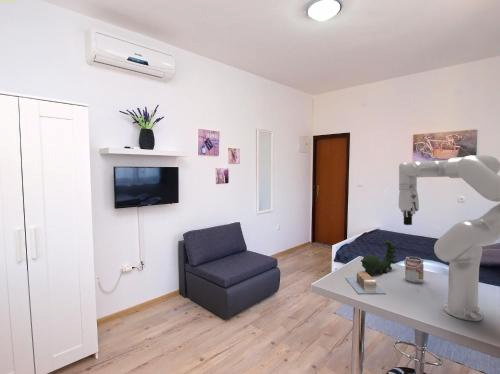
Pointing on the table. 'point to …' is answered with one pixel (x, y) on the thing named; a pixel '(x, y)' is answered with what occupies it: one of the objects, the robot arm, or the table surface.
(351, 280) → the rubber mat
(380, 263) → the toy figurine
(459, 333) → the table surface
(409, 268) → the beverage can
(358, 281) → the brown tall block
